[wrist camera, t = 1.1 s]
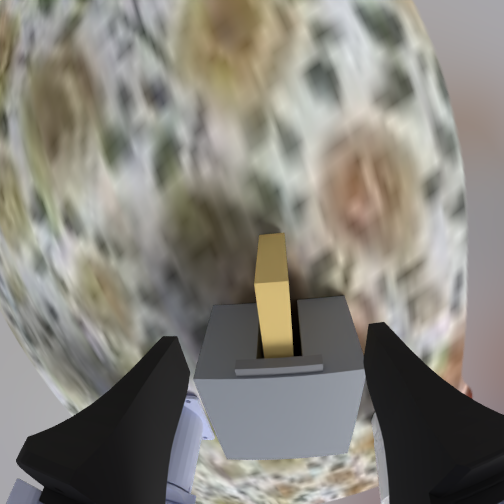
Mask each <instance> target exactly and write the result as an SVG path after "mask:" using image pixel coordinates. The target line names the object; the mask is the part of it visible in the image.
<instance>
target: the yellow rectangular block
mask: <svg viewBox="0 0 504 504" xmlns="http://www.w3.org/2000/svg"><path fill="white" fill-rule="evenodd" d="M254 286H255V294H256V301H257V308H258V315H259V322H260V329H261V336H262V343H263V350H264V358H265V359H266V358H283V357H293V340H292V324H291V309H290V294H289V280H288V268H287V256H286V245H285V234H284V233H275V234H264V235H259V241H258V251H257V261H256V270H255V280H254Z"/></svg>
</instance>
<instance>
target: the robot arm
mask: <svg viewBox="0 0 504 504" xmlns="http://www.w3.org/2000/svg"><path fill="white" fill-rule="evenodd" d="M363 364H364V370H365V375H366V381H367V386H368V389H369V392H370V396H371V399H372V402H373V406H374V409H375V412H376V416H377V419H378V422H379V426H380V429H381V433H382V438H383V443H384V449H385V456H386V465H387V474H388V486H389V504H504V415H502V414H500V413H498V412H496V411H494V410H491V409H489V408H487V407H485V406H483V405H482V404H480V403H478V402H476V401H474V400H473V399H471V398H470V397H468V396H466V395H465V394H463V393H461V392H460V391H458V390H457V389H456V388H454V387H453V386H451V385H450V384H449V383H447V382H446V381H445V380H443V379H442V378H441V377H440V376H438V375H437V374H436V373H435V372H434V371H433V370H431V369H430V368H429V367H428V366H427V365H426V364H425V363H424V362H423V361H422V360H421V359H420V358H418V357H417V356H416V355H415V354H414V353H413V352H412V351H411V350H410V349H409V348H408V347H407V346H406V345H405V343H404V342H403V341H402V340H401V339H400V338H399V337H398V336H397V335H396V334H395V333H394V332H393V331H392V330H391V329H390V328H389V326H388V325H387V324H386V323H385V322H380V323H373V324H369V325H368V333H367V340H366V347H365V354H364V360H363ZM189 376H190V371H189V368H188V365H187V363H186V360H185V357H184V354H183V352H182V349H181V346H180V343H179V340H178V338H177V336H163V337H162V338H161V339H160V340H159V341H158V342H157V343H156V344H155V345H154V346H153V347H152V348H151V349H150V350H149V351H148V353H147V354H146V355H145V356H144V357H143V358H142V359H141V360H140V361H139V362H138V363H137V364H136V365H135V366H134V367H133V368H132V369H131V370H130V371H129V372H128V373H127V374H126V375H125V376H124V377H123V378H122V379H121V380H120V381H119V382H118V383H117V384H116V385H115V386H113V387H112V388H111V389H110V390H109V391H108V392H107V393H105V394H104V395H103V396H102V397H100V398H99V399H98V400H96V401H95V402H94V403H92V404H91V405H90V406H88V407H86V408H85V409H83V410H82V411H80V412H79V413H77V414H76V415H74V416H73V417H71V418H69V419H67V420H65V421H64V422H62V423H60V424H58V425H56V426H54V427H52V428H49V429H47V430H45V431H42V432H40V433H37V434H35V435H32V436H29V437H27V439H26V441H25V443H24V445H23V447H22V449H21V451H20V453H19V455H18V457H17V459H16V462H17V464H18V465H19V467H20V468H21V469H23V470H24V471H25V472H26V473H27V474H29V475H30V476H31V477H32V478H34V479H35V480H36V481H38V482H39V483H40V484H42V485H43V486H44V489H43V491H41V490H39V489H37V488H35V487H34V486H32V485H30V484H28V483H26V482H24V481H23V480H21V479H17V480H16V482H15V484H14V486H13V489H12V491H11V493H10V496H9V498H8V500H7V503H6V504H195V501H196V496H195V495H192V494H191V490H192V485H193V480H194V475H195V469H196V464H197V459H198V454H199V449H200V444H201V439H203V440H213V439H214V438H215V435H214V433H213V431H212V429H211V426H210V424H209V422H208V419H207V417H206V415H205V412H204V410H203V408H202V405H201V403H200V401H199V399H198V398H197V397H196V396H188V395H187V390H188V384H189Z"/></svg>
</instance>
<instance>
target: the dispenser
mask: <svg viewBox="0 0 504 504" xmlns="http://www.w3.org/2000/svg"><path fill="white" fill-rule="evenodd" d="M297 307H298V328H299V353H300V356H297V357H283V358H266V359H265V358H264V350H263V343H262V336H261V329H260V322H259V315H258V308H257V303H248V304H232V305H213V309H212V312H211V316H210V319H209V323H208V327H207V330H206V334H205V337H204V341H203V345H202V348H201V352H200V356H199V359H198V363H197V367H196V370H195V374H194V378H193V380H194V382H195V385H196V388H197V390H198V393H199V395H200V398H201V400H202V403H203V405H204V407H205V410H206V412H207V415H208V417H209V419H210V422H211V424H212V426H213V429H214V431H215V433H216V436H217V438H218V440H219V442H220V444H221V447H222V449H223V451H224V453H225V455H226V457H227V459H239V460H268V459H293V458H307V457H318V456H328V455H336V454H344V453H347V452H348V449H349V445H350V442H351V438H352V434H353V430H354V427H355V423H356V419H357V414H358V410H359V406H360V401H361V397H362V392H363V387H364V383H365V378H366V375H365V370H364V364H363V360H364V356H363V352H362V349H361V346H360V342H359V339H358V336H357V333H356V330H355V326H354V323H353V320H352V317H351V314H350V311H349V308H348V305H347V302H346V299H345V296H335V297H324V298H314V299H302V300H297Z"/></svg>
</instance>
